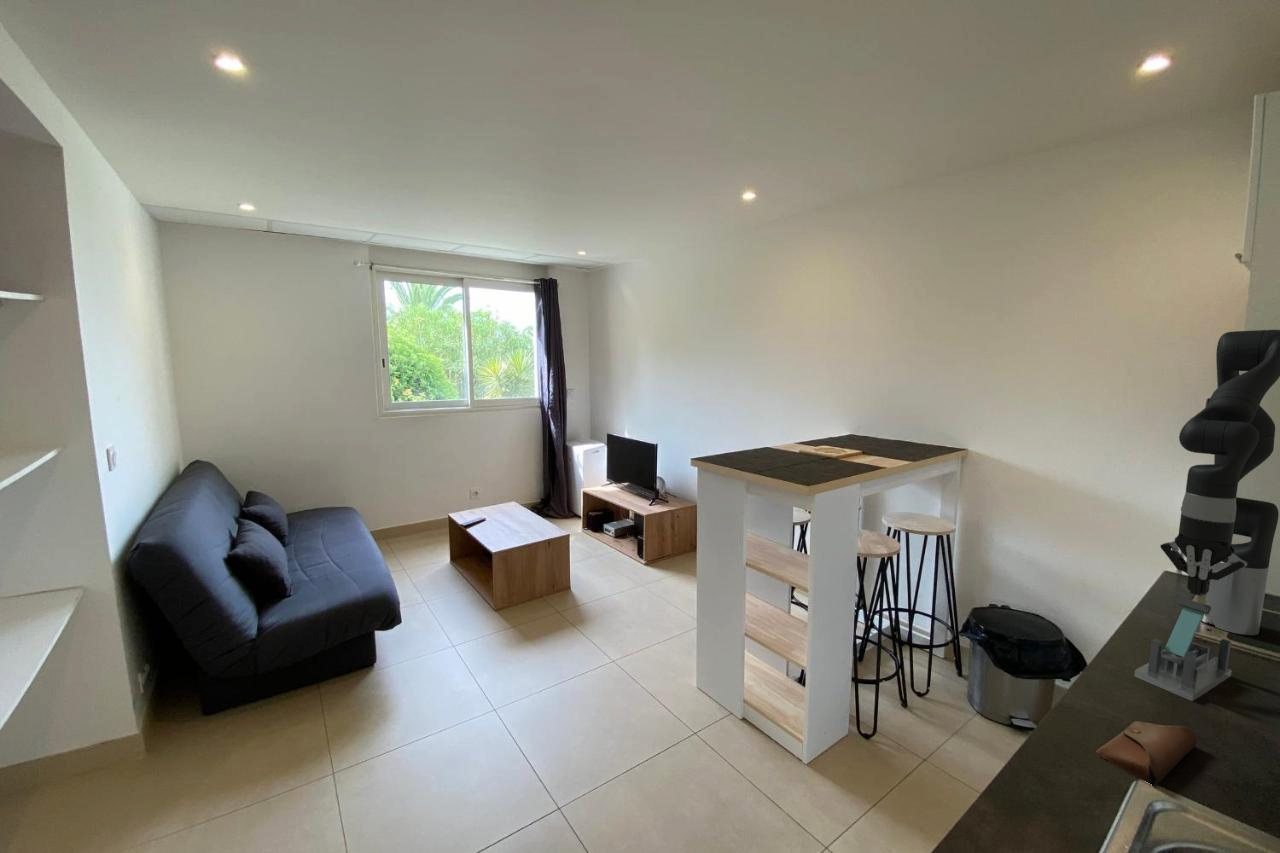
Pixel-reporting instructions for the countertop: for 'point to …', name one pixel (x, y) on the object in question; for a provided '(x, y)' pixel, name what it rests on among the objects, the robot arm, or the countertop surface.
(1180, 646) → the teal tile grey cap
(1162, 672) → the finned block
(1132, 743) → the sunglasses case
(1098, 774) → the countertop surface
